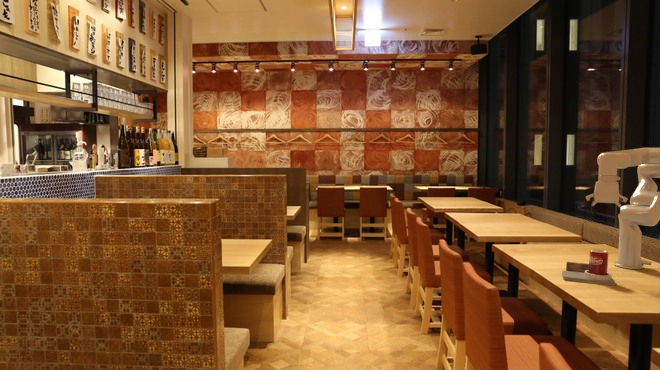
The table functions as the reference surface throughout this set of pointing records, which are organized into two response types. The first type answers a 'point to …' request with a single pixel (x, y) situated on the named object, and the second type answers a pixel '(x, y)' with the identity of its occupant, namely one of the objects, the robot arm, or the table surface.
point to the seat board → (584, 279)
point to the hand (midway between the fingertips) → (605, 214)
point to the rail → (577, 267)
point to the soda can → (598, 262)
